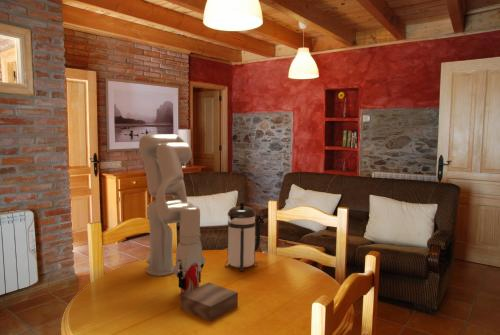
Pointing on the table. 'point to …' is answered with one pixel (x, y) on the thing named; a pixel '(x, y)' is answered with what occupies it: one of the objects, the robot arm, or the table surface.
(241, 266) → the coffee press
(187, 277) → the soda can
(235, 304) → the walnut base
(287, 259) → the table surface
